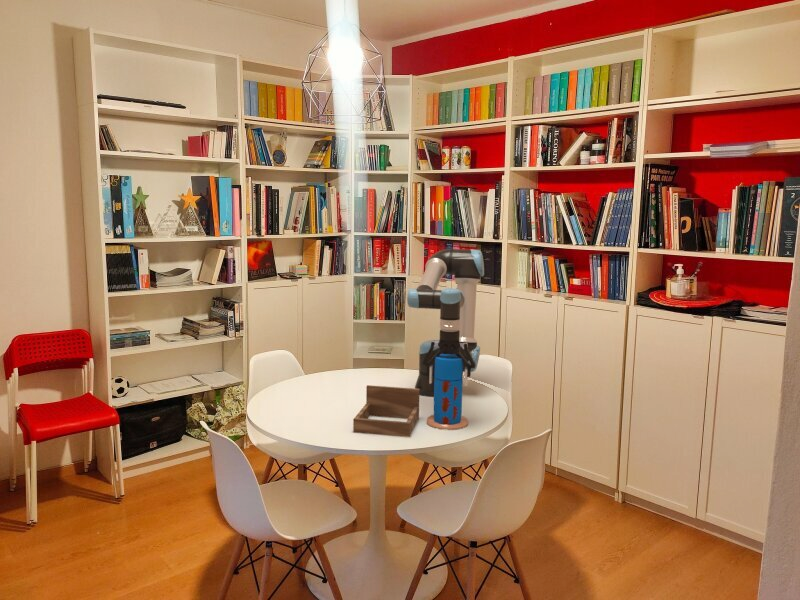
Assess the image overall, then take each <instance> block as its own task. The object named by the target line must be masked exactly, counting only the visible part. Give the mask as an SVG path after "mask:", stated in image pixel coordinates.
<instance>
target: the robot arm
mask: <svg viewBox="0 0 800 600" xmlns="http://www.w3.org/2000/svg"><path fill="white" fill-rule="evenodd" d="M484 262H485V261H484V256H483V252H482V251H481V250H479V249H472V248H471V249H470V248H469V249H465V248H462V249H460V248H445V249H441V250H439V251H437V252H436V253H434V254H433V255H431V256H430V257H429V258H428V259H427V261H426V263H425V267H424V268H425V271H424V273H423V275H422V277H421V280H420V281H419V283H418V284H417V287H416V288H410V289H409V290H408V292H407V297H406V298H407V299H406V300H407V301H406V302H407V306H408V307H409V308H415V309H427V310H428V309H430V310H432V309H433V310H440V314H439V315H440V316H439V317H440V318H439V329H440V330H439V339H431V340H426V341H424V342H421V344H420V345H419V352H418V357H419V358H418V359H419V361H418V362H419V363H418V376H417V378H416V379H417V380H416V382H415V385H414V389H420V390H419V396H424V395H426V397H434V377H435V376H434V374H435V358H436V357H439V356H440V355H441V354H454V355H457V356H458V357H459V358H460V359H462V362H463V373H464V387H467V386H468V378H470V377H471V374H472V373H473V372H475V371H476V369H477V368H478V364H479V360H480V354H481V346H479V345H478V341H477V340H476V339H475V325H476V323H475V321H476V303H477V285H478V283H479V282H481V278H482V277H484V276H485V264H484ZM448 275H449V276H454V278H453V279H454V281H455V282H456V285H457V286H456V288H442V289H438V287H439V285H440V282H441V280H442V278H443V277H444V276H448Z"/></svg>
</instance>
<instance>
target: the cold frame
mask: <svg viewBox="0 0 800 600" xmlns="http://www.w3.org/2000/svg"><path fill="white" fill-rule="evenodd" d="M365 388H366V391H365V392H366V393H365V394H366V395H365V396H366V397H365V398H366V401H365V404H364V406H363V407H362V408H361V409H360V410H359V411H358V413H357V414H356V416H355V417H354V418H353V419H352V420H353V422H352V423H353V426H352V432H353V433H359V434H369V435H370V434H372V435H383V436H395V437H405V438H410V437H411V435H412V433H413V432H414V431H413V430H414V429H415V426H416V425H417V423H418V421H419V419H420V394H419V390H420V389H415V387H414V388H413V387H412V388H411V387H397V386H396V387H395V386H382V385H371V384H370V385H368V384H367V385H366V387H365ZM370 417H382V418H393V419H404V420H405V419H407V420H406V421H397V420H389V419H388V420H384V419H373V418H370Z"/></svg>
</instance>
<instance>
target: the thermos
mask: <svg viewBox="0 0 800 600" xmlns="http://www.w3.org/2000/svg"><path fill="white" fill-rule="evenodd" d="M434 376H435V377H434V396H433V415H434V421H435V422H436V423H439V424H444V425H453V424H458V423H460V422H461V416H462V414H463V413H462V411H463V385H464V384H463V381H464V379H463V377H464V372H463V362H462V359H460V358H459V357H458V356H457V355H454V354H441V355H440V356H439V357H436V358H435V374H434Z"/></svg>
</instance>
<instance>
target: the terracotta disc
mask: <svg viewBox="0 0 800 600" xmlns="http://www.w3.org/2000/svg"><path fill="white" fill-rule="evenodd" d="M467 424H469V419H467V418H466V417H464V416H462V415H461V422H460V423H458V424H453V425H444V424H439V423H436V422H435V421H434V414H432V415H430V416H427V418H426V425H428V426H429V427H431V428H433V429H436V428H438V430H442V429H457V430H460V429H459V428H462V429H464V428H466V427H467V426H468V425H467ZM466 425H467V426H466ZM465 426H466V427H465ZM463 427H464V428H463Z"/></svg>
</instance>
